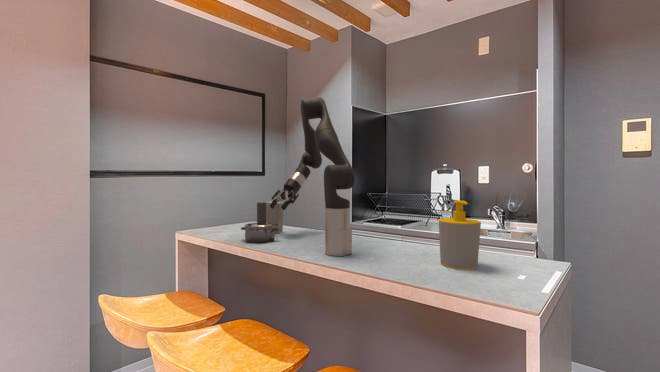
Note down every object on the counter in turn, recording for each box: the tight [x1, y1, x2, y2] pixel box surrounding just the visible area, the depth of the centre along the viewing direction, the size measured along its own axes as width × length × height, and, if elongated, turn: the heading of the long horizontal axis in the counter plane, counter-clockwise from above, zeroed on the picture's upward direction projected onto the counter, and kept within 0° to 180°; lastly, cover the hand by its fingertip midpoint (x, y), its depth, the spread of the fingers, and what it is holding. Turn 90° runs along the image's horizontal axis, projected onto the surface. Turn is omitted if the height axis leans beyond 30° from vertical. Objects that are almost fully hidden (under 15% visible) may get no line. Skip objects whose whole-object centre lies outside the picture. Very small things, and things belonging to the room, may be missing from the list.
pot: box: [240, 222, 279, 244], centre depth 154 cm, size 17×13×7 cm
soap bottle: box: [438, 199, 482, 271], centre depth 113 cm, size 13×13×21 cm
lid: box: [251, 201, 272, 227], centre depth 154 cm, size 9×9×11 cm
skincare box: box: [264, 201, 284, 235], centre depth 174 cm, size 8×7×16 cm
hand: (276, 208), depth 161 cm, fingers open, 8 cm apart
